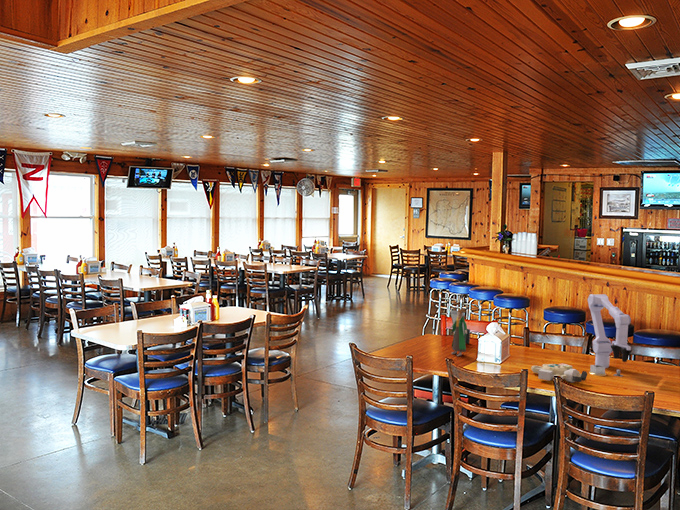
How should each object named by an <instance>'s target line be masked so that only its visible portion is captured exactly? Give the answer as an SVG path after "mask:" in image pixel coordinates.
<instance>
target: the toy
mask: <svg viewBox="0 0 680 510" xmlns="http://www.w3.org/2000/svg"><path fill="white" fill-rule="evenodd" d="M531 371H532V372H533V373H535V374H537V375H538V378H537V379H539V380H544V381H554V380H553V377H554V376H560V377H561V378H562V379H563V380H562V381H564V380H565V381H566V382H569V383H575V382H578V383H582V381H586V379H587V376H588V373H587V371H585V370H582V371H581V372H582V373H580V371H578V370H577V369H575V368H573V365H569V364H567V363H548V364H547V363H544V364H542V365H532V366H531Z"/></svg>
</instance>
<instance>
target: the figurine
mask: <svg viewBox="0 0 680 510" xmlns="http://www.w3.org/2000/svg"><path fill="white" fill-rule="evenodd" d="M456 311H457V317H456V321H455V322H454V324H453V323H452V325H451V326H449V329H451V332H452V333H453V332H454V331H455V333H454V338H453V339H452V344H451V349H452V350H453V351H452V352H451V355H456V357H462V355H463V354H462V353H465V352H467V347H466V345H467V344H465V339H464V333H463V323H464V328H465V337H466V334H467V329H468V326H467V323H466V319H465V317H464V318H463V317H462V316H463V314H464V313H467V311H466V309H465V308H463V307H462V308H459V309H458V310H456ZM462 312H463V313H462ZM464 319H465V320H464Z"/></svg>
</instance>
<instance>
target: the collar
mask: <svg viewBox="0 0 680 510" xmlns="http://www.w3.org/2000/svg"><path fill="white" fill-rule="evenodd" d="M589 372H591V373H593V374H596V375H595V376H597V375H601V374H605V373H606V368H605V367H603V366H601V365H595V364H590V371H589Z"/></svg>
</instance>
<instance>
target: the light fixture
mask: <svg viewBox="0 0 680 510" xmlns="http://www.w3.org/2000/svg"><path fill="white" fill-rule="evenodd" d="M457 311H458V310H450V312H449V314H450V318H451V320H452V325H453V324H454V322H455V321H456V317H457ZM462 313H464V312H462ZM462 317H463V318H464V320H465V321H466V319H465V315H464V314H463V316H462ZM454 333H455V331H454V332H453V338H454ZM463 333H464V339H465V345H467V344H470V343H471V342H470V340H471V329H469V328H467V334H466V337H465V328H464V323H463Z"/></svg>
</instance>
